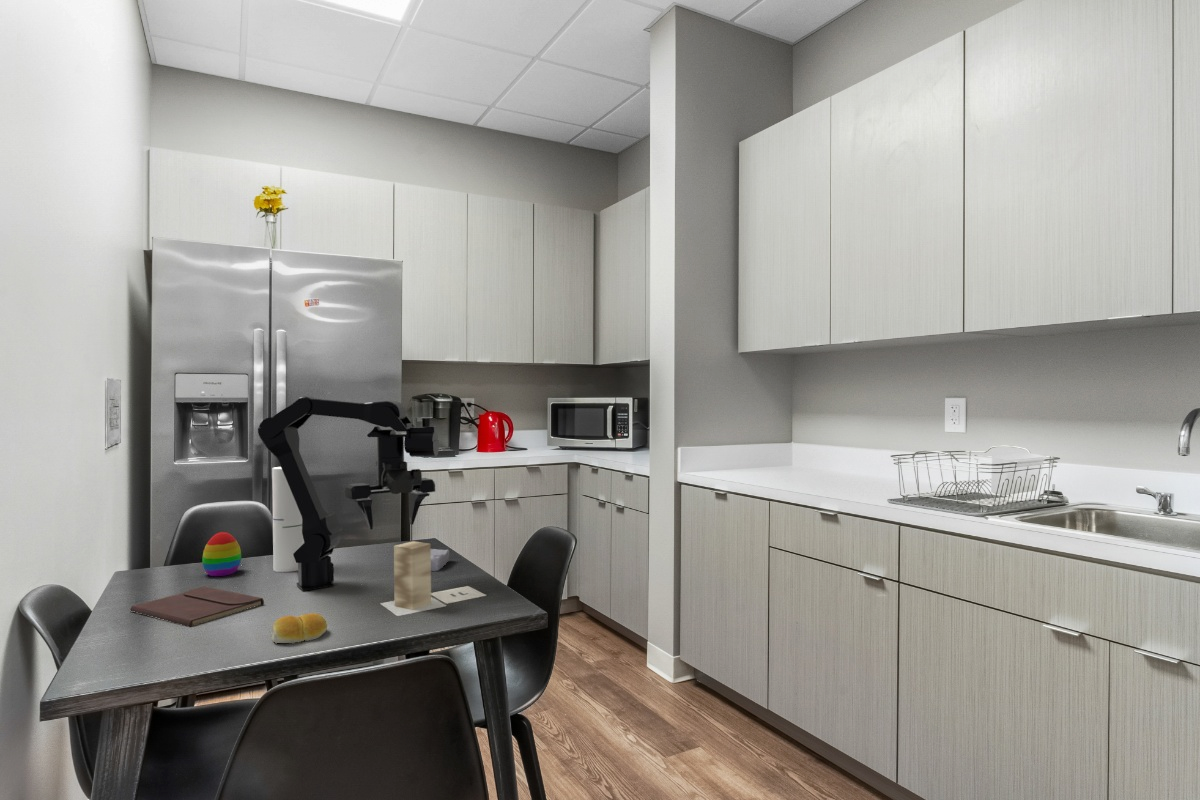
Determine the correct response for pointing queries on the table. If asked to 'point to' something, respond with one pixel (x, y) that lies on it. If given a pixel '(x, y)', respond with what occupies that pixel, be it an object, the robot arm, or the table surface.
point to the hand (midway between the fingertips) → (391, 526)
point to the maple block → (412, 575)
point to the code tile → (457, 594)
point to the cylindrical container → (285, 524)
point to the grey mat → (403, 611)
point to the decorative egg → (221, 555)
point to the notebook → (197, 605)
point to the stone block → (438, 559)
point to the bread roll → (298, 628)
